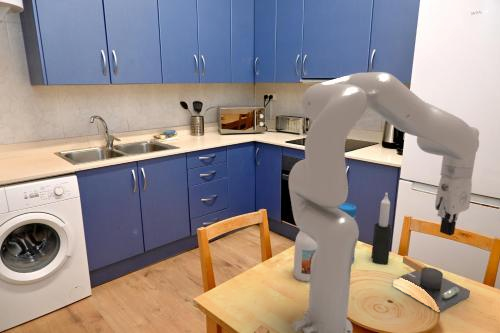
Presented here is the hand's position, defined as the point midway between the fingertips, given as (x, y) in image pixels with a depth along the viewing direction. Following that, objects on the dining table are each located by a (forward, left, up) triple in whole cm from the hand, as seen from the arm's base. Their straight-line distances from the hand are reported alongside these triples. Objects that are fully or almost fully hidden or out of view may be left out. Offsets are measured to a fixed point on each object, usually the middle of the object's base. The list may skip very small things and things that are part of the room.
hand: (446, 233), depth 99 cm
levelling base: (-2, +1, -19) cm, 19 cm away
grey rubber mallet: (-2, +5, -16) cm, 17 cm away
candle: (0, +21, -19) cm, 29 cm away
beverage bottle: (-11, +28, -19) cm, 36 cm away
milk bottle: (-29, +26, -19) cm, 44 cm away
